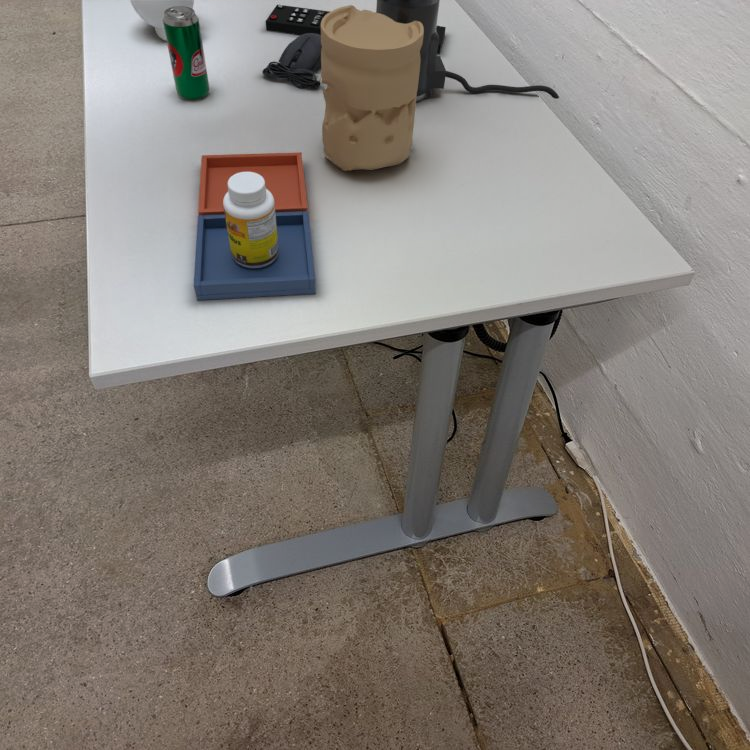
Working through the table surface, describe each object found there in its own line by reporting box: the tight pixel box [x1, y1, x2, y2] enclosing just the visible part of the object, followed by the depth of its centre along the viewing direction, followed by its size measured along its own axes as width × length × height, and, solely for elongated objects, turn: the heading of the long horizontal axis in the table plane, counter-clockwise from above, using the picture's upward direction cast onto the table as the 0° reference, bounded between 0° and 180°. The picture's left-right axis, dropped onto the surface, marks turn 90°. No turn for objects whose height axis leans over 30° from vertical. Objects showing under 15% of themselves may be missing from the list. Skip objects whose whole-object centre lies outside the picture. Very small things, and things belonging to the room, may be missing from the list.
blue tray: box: [193, 210, 317, 301], centre depth 76 cm, size 13×12×2 cm
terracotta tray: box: [197, 152, 309, 216], centre depth 84 cm, size 13×12×2 cm
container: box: [320, 4, 424, 172], centre depth 84 cm, size 13×13×18 cm
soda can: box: [163, 6, 211, 101], centre depth 95 cm, size 5×5×12 cm
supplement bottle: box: [223, 172, 278, 268], centre depth 72 cm, size 6×6×10 cm
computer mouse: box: [261, 33, 322, 90], centre depth 106 cm, size 10×15×4 cm
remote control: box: [265, 4, 447, 55], centre depth 115 cm, size 8×32×2 cm, turn 79°
